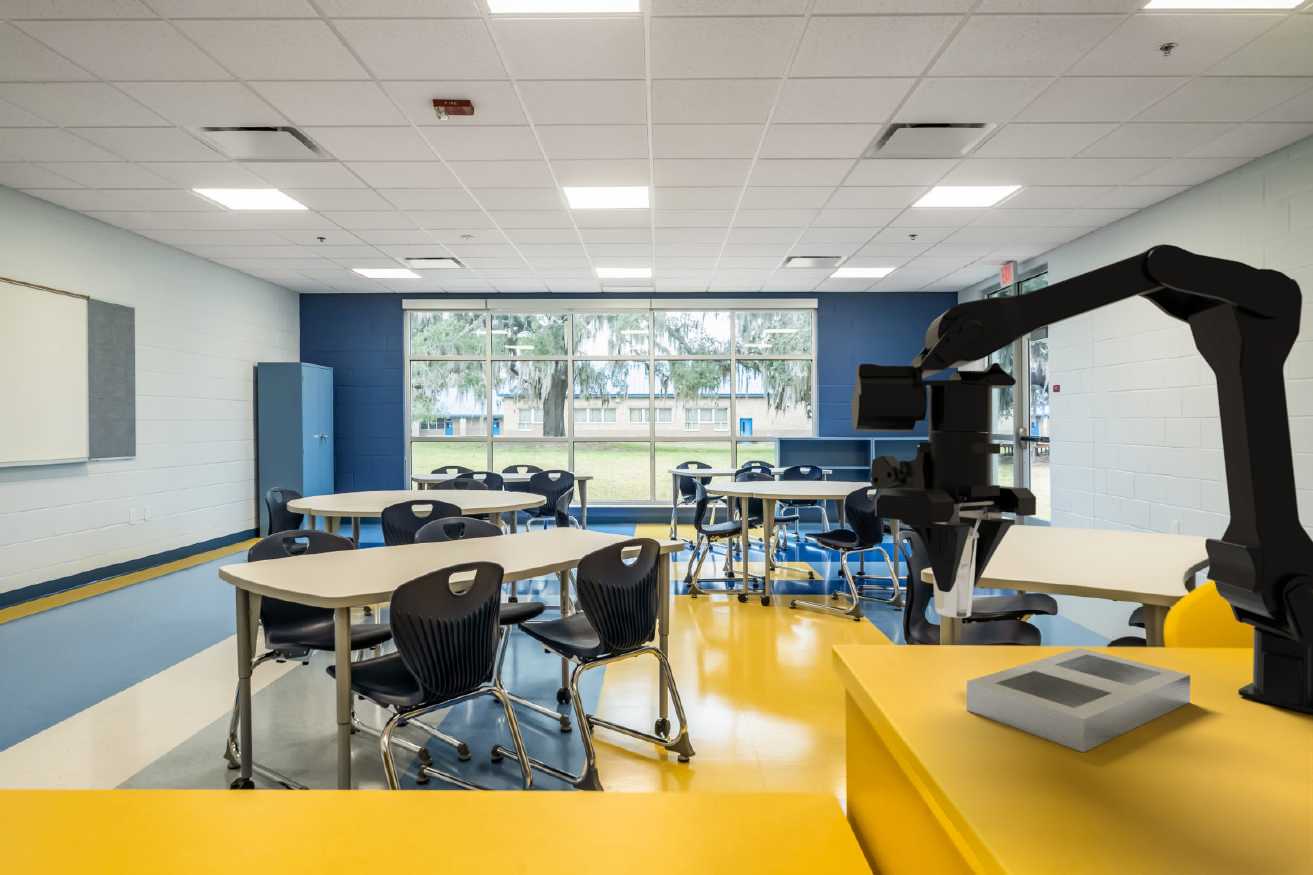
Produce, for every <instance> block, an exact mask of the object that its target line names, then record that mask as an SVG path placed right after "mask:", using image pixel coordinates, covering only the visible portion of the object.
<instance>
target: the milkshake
mask: <svg viewBox="0 0 1313 875" xmlns="http://www.w3.org/2000/svg"><path fill="white" fill-rule="evenodd" d="M981 518H982V517H978V519H977V522H976V524H975V527H974V528H972V527H970V530H969V533H968V537H967V540H966V544H965V547H964V550H963V554H962V557H961V561H960V564H959V567H958V571H957V574H956V578H955V581H954V583H953V586H952V589H951V591H950V592H943V591H940V590H939V589H938V587H937V584H936V581H935V577H934V574H933V573H932V581H933V596H934V597H933V598H934V610H935V613H936V614H937V615H940V616H943V617H948V618H956V619H957V618H964V619H965V618H969V617H970V616H971V615H972V606H973V595H974V588H975V587H974V576H975V565H976V556H977V548H978V540H979V534H978V532H977V528H978V526H979V523H980V521H981ZM973 587H974V588H973Z"/></svg>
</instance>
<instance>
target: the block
mask: <svg viewBox="0 0 1313 875" xmlns="http://www.w3.org/2000/svg"><path fill="white" fill-rule="evenodd" d="M1190 699H1191V674H1189V673H1184V672H1179V671H1176V670H1171V669H1167V668H1165V667H1159V666H1156V665H1151V664H1148V663H1147V664H1146V663H1142V662H1139V661H1135V660H1132V659H1127V658H1122V657H1118V656H1115V655H1110V654H1106V653H1102V652H1098V651H1095V650H1094V651H1093V650H1090V649H1086V648H1082V647H1078V648H1075V649H1071V650H1068V651H1065V652H1061V653H1058V654H1055V655H1051V656H1048V657H1045V658H1040V659H1038V660H1034V661H1031V662H1027V663H1025V664H1020V665H1017V666H1015V667H1010V668H1007V669H1005V670H1001V671H998V672H997V671H996V672H993V673H991V674H987V675H984V676H981V677H977V678H973V679H971V680H967V681H966V709H965V710H966V711H968V712H970V713H973V714H976V715H979V716H981V717H985V718H987V719H990V720H992V721H995V722H997V723H1000V724H1004V725H1007V726H1010V727H1013V728H1014V729H1017V730H1020V731H1023V732H1026V733H1028V734H1031V735H1034V736H1037V737H1040V738H1042V739H1045V740H1048V741H1051V742H1052V743H1056V744H1059V745H1061V746H1064V747H1067V748H1070V749H1073V750H1075V751H1078V752H1081V753H1085V752H1087V751H1089V750H1091V749H1094V748H1096V747H1098V746H1100V745H1102V744H1104V743H1106V742H1108V741H1110V740H1113V739H1116V738H1117V737H1119V736H1121V735H1123V734H1125V733H1127V732H1129V731H1132V730H1134V729H1136V728H1138V727H1140V726H1142V725H1145V724H1147V723H1149V722H1151V721H1153V720H1155V719H1157V718H1160V717H1161V716H1163V715H1166V714H1167V713H1170V712H1172V711H1174V710H1176V709H1178V708H1180V707H1183V706H1184V705H1187V704H1189V703H1190V702H1191V700H1190Z"/></svg>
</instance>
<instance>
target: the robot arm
mask: <svg viewBox="0 0 1313 875" xmlns="http://www.w3.org/2000/svg"><path fill="white" fill-rule="evenodd" d="M1136 296H1139V297H1141V298H1143V299H1146V300H1148V301H1150V303H1151V304H1153V305H1154V306H1155V307H1156V308H1158V309H1159V310H1161V311H1162V312H1163V313H1164V314H1165V315H1167V316H1168V317H1171V318H1172V319H1175V320H1178V321H1181V322H1182V323H1186V324H1188V325H1189V327H1190V331H1191V335H1192V338H1193V341H1194V344H1195V348H1196V350H1197V351H1198V353H1200V355H1201V357H1202V358H1203V359H1204V361H1205V362H1206V363H1207V365H1208V366H1209V368H1210V369H1211V370H1212V371H1213V373H1214V375H1215V381H1216V391H1217V399H1218V410H1219V418H1220V419H1219V420H1220V428H1221V429H1220V430H1221V438H1222V448H1223V459H1224V468H1225V476H1226V479H1225V480H1226V487H1227V488H1226V489H1227V497H1228V506H1229V507H1228V508H1229V515H1230V517H1229V524H1228V525H1227V528H1226V530H1225V532H1224V533H1223V535H1222V537H1221V539H1215V538H1206V539H1205V551H1206V554H1207V557H1208V563H1209V566H1208V572H1207V575H1206V579H1207V580H1208V581H1209V580H1210V581H1212V582H1214V585H1215V588H1216V591H1217V593H1218V594H1219V596H1220V597H1222V598H1223V599H1224V600H1225V601H1226V602H1228V603H1229V606H1230V608H1231V610H1232V613H1233V615H1234V618H1235V621H1237V622H1238V623H1241V624H1247V625H1249V626H1252V627H1253V657H1252V658H1253V660H1252V661H1253V662H1252V663H1253V664H1252V666H1253V667H1252V669H1253V670H1252V682H1250V683H1249V684H1247V685H1245V686H1242V687H1241V688H1239V689H1238V695H1239V696H1242V697H1245V698H1249V699H1252V700H1257V701H1261V702H1265V703H1267V704H1268V703H1269V704H1273V705H1277V706H1280V707H1285V708H1289V709H1292V710H1297V711H1301V712H1305V713H1308V714H1312V715H1313V539H1312V538H1311V537H1310V535H1309V534H1308V532H1307V531H1306V530H1305V528H1304V527H1303V525H1302V524H1301V521H1300V516H1299V507H1298V506H1299V504H1298V496H1297V487H1296V477H1295V468H1294V459H1293V458H1294V457H1293V449H1292V448H1293V447H1292V439H1291V431H1290V430H1291V429H1290V421H1289V420H1290V419H1289V412H1288V411H1289V410H1288V400H1287V392H1286V384H1285V383H1286V382H1285V374H1284V369H1285V368H1284V367H1285V364H1286V361H1287V359H1288V358H1289V355H1290V353H1291V351H1292V349H1293V347H1294V345H1295V344H1296V343H1295V342H1296V341H1297V339H1298V337H1299V335H1300V331H1301V321H1302V312H1303V311H1302V309H1303V293H1302V289H1301V286H1300V285H1299V282H1297V280H1296V279H1295V278H1291V277H1289V276H1288V275H1286V274H1285V273H1283V272H1282V271H1278V270H1275V269H1273V268H1257V267H1254V266H1251V265H1249V264H1247V263H1244V262H1241V261H1236V260H1233V259H1227V258H1220V257H1216V256H1208V255H1205V254H1204V255H1203V254H1199V253H1194V252H1191V251H1189V250H1187V249H1185V248H1182V247H1180V246H1176V245H1171V244H1165V243H1163V244H1158V245H1154V246H1152V247H1150V248H1148V249H1146V250H1144V251H1142V252H1140V253H1138V254H1135V255H1133V256H1130V257H1128V258H1125V259H1121V260H1119V261H1116V262H1114V263H1113V262H1112V263H1110V264H1108V265H1105V266H1104V265H1103V266H1102V267H1098V268H1096V269H1093V270H1090V271H1088V272H1084V273H1082V274H1079V275H1075V276H1073V277H1070V278H1067V279H1065V280H1062V281H1059V282H1055V283H1052V284H1049V285H1047V286H1044V287H1041V288H1038V289H1036V290H1033V291H1030V292H1027V293H1026V292H1025V293H1020V294H1016V295H1005V296H1002V295H1001V296H994V297H993V296H992V297H987V298H983V299H982V298H981V299H977V300H971V301H966V302H965V301H964V302H960V303H958V304H955V305H954V306H952V307H951V308H949V309H947V311H945V312H943V313H942V314H941V315H940V316H938V317H937V318H935V319H934V320H933V321H932V322H931V324H930V325H929V326H928V329H927V331H926V333H925V339H924V342H925V346H924V348H922V350H921V351H920V353H918V355H917V357H916V358H915V357H914V359H912V360H911V364H910V365H879V364H876V363H875V364H873V363H861V364H859V365H858V366H857V367H856V373H855V374H856V378H855V380H854V388H853V396H852V397H851V426H852V429H853V430H854V431H856V432H857V431H858V432H902V433H903V432H906V433H907V432H912V431H913V430H915V429H914V428H915V425H916V423H922V422H925V419H926V416H927V410H928V441H927V442H926V441H925V442H924V441H921V442H920V441H919V445H917V447H916V457H915V458H912V459H910V460H909V459H908V460H901V461H898V459H896V457H895V456H893V455H881V456H878V457H876V458H874V459H872V462H871V467H870V468H871V469H870V479H871V480H870V484H871V486H872V487H874V488H875V489H876V490H881V491H880V492H879V493H878V494H877V495H876V496H875V500H874V503H875V504H874V506H875V508H874V509H875V510H874V511H875V512H874V516H875V517H876V518H882V519H890V520H895V521H896V520H897V521H900V523H902V525H904V526H908V527H909V528H911V530H913V532H915V533H916V535H917V536H918V537H919V539H920V541H921V543H922V545H923V548H924V551H925V553H926V556H927V558H928V562H929V565H930V567H931V571H932V575H933V574H934V577H935V581H936V584H937V587H938V589H939V590H940V591H943V592H950V591H951V589H952V586H953V583H954V581H955V578H956V574H957V571H958V567H959V564H960V561H961V557H962V554H963V550H964V547H965V544H966V540H967V537H968V533H969V530H970V527H972V528H974V527H975V524H976V522H977V519H978V517H982V518H981V521H980V523H979V526H978V528H977V532H978V534H979V540H978V548H977V556H976V565H975V576H974V587H973V589H974V588H976V586H977V585H978V583H979V581H980V579H981V577H982V575H984V574H983V573H984V572H985V570H986V568H987V567H988V565H989V563H990V561H991V559H992V557H993V556H994V554H995V552H996V550H997V549H998V547H999V545H1000V544H1001V542H1002V541H1003V539H1004V538H1005V537H1006V535H1007V533H1008V531H1009V529H1010V528H1011V526H1014V525H1015V524H1016V520H1015V519H1011V518H1010V519H1009V518H1003V513H1008V514H1009V513H1010V514H1015V515H1016V516H1019V517H1020V516H1021V517H1025V516H1036V514H1037V513H1036V512H1037V496H1036V495H1035V494H1034V493H1033V492H1032V491H1031V490H1030V489H1029V488H1028V487H1022V486H1020V487H1018V486H1005V485H1004V486H1003V485H1000V484H991V475H992V474H991V470H992V469H991V468H992V454H993V455H995V454H996V455H997V454H998V455H999V454H1001V443H992V406H993V405H992V402H993V399H992V396H993V395H992V394H993V392H992V391H993V390H992V389H1004V388H1008V387H1013V386H1015V385H1016V382H1017V380H1016V379H1015V378H1014V377H1013V376H1012V375H1010V374H1009V373H1007V372H1006V371H1005V370H1004V369H1003V368H1002V367H1001V366H1000V363H998V362H993V363H991V364H989V365H987V366H986V367H985V369H984V370H955V371H952V373H951V375H950V377H949V379H944V380H943V379H942V380H938V379H935V380H934V379H933V380H926V379H925V378H929V377H930V376H933V375H934V374H937V373H939V372H942V371H944V370H946V369H949V368H950V369H952V368H953V369H955V368H962V367H965V366H967V365H970V364H972V363H974V362H975V363H976V362H977V361H979V360H980V361H981V360H982V359H985V358H986V357H988V356H990V355H992V354H993V353H995V352H997V351H999V350H1002V349H1003V348H1005V347H1007V346H1008V345H1010V344H1012V343H1014V342H1016V341H1017V340H1019V339H1021V338H1023V337H1025V336H1027V335H1028V334H1030V333H1032V332H1034V331H1036V330H1040V329H1042V328H1046V327H1048V326H1051V325H1052V326H1053V325H1055V324H1058V323H1060V322H1063V321H1066V320H1068V319H1071V318H1074V317H1075V318H1076V317H1078V316H1081V315H1083V314H1086V313H1089V312H1092V311H1095V310H1098V309H1101V308H1104V307H1107V306H1110V305H1112V304H1115V303H1119V302H1122V301H1124V300H1127V299H1132V298H1134V297H1136ZM923 378H924V379H925V380H924V379H923ZM927 389H929V394H928V391H927ZM927 394H928V395H929V398H928V395H927ZM928 399H929V400H928ZM928 401H929V403H928Z"/></svg>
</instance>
